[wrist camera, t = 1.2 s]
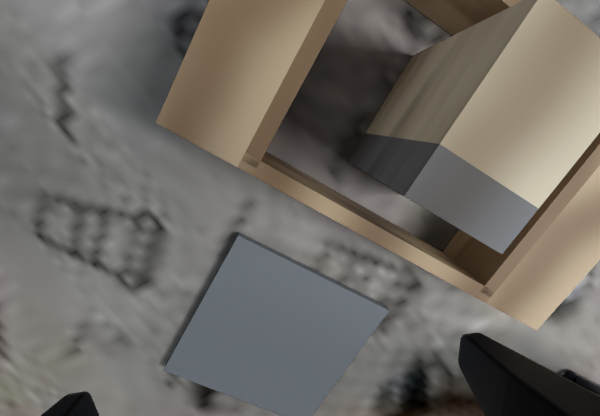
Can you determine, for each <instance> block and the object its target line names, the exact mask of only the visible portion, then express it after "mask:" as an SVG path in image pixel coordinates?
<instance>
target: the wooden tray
mask: <svg viewBox="0 0 600 416" xmlns="http://www.w3.org/2000/svg"><path fill="white" fill-rule="evenodd" d="M405 1H406V2H408V3H409V4H410V5H412V6H413V7H414V8H416V9H417V10H418V11H420V12H421V13H422V14H424V15H425V16H426V17H428V18H429V19H430V20H432V21H433V22H434V23H436V24H437V25H438V26H440V27H441V28H442V29H444V30H445V31H446V32H448V33H449V34H450V35H452V36H453V35H455V34H457V33H459V32H461V31H463V30H465V29H467V28H469V27H471V26H473V25H475V24H477V23H479V22H481V21H483V20H485V19H487V18H489V17H491V16H493V15H495V14H497V13H499V12H501V11H503V10H505V9H507V8H509V7H511V6H513V5H515V4H517V3H519V2H521V1H523V0H405ZM346 2H347V0H209V2H208V5H207V7H206V9H205V11H204V14H203V16H202V18H201V21H200V23H199V25H198V27H197V30H196V32H195V34H194V36H193V39H192V41H191V43H190V46H189V48H188V50H187V52H186V55H185V57H184V59H183V62H182V64H181V66H180V68H179V71H178V73H177V75H176V77H175V80H174V82H173V84H172V87H171V89H170V91H169V93H168V96H167V98H166V100H165V102H164V105H163V107H162V109H161V112H160V114H159V116H158V118H157V121H156V123H157V124H158V125H160V126H162V127H164V128H166V129H168V130H169V131H171V132H173V133H175V134H177V135H179V136H180V137H182V138H184V139H186V140H188V141H190V142H191V143H193V144H195V145H197V146H199V147H201V148H202V149H204V150H206V151H208V152H210V153H212V154H213V155H215V156H217V157H219V158H221V159H223V160H224V161H226V162H228V163H230V164H232V165H234V166H235V167H237V168H239V169H241V170H243V171H245V172H247V173H248V174H250V175H252V176H254V177H256V178H258V179H259V180H261V181H263V182H265V183H267V184H269V185H270V186H272V187H274V188H276V189H278V190H280V191H281V192H283V193H285V194H287V195H289V196H291V197H292V198H294V199H296V200H298V201H300V202H302V203H303V204H305V205H307V206H309V207H311V208H313V209H314V210H316V211H318V212H320V213H322V214H324V215H325V216H327V217H329V218H331V219H333V220H335V221H336V222H338V223H340V224H342V225H344V226H346V227H347V228H349V229H351V230H353V231H355V232H357V233H358V234H360V235H362V236H364V237H366V238H368V239H369V240H371V241H373V242H375V243H377V244H379V245H381V246H382V247H384V248H386V249H388V250H390V251H392V252H393V253H395V254H397V255H399V256H401V257H403V258H404V259H406V260H408V261H410V262H412V263H414V264H415V265H417V266H419V267H421V268H423V269H425V270H426V271H428V272H430V273H432V274H434V275H436V276H437V277H439V278H441V279H443V280H445V281H447V282H448V283H450V284H452V285H454V286H456V287H458V288H459V289H461V290H463V291H465V292H467V293H469V294H470V295H472V296H474V297H476V298H478V299H480V300H481V301H483V302H485V303H487V304H489V305H491V306H492V307H494V308H496V309H498V310H500V311H502V312H504V313H505V314H507V315H509V316H511V317H513V318H515V319H516V320H518V321H520V322H522V323H524V324H526V325H527V326H529V327H531V328H533V329H535V330H537V329H538V328H539V327H540V326H541V325H542V324H543V323H544V322H545V321H546V319H547V318H548V317H549V316H550V315H551V314H552V313H553V312H554V310H555V309H556V308H557V307H558V306H559V305H560V304H561V303H562V302H563V300H564V299H565V298H566V297H567V296H568V295H569V294H570V293H571V291H572V290H573V289H574V288H575V287H576V286H577V285H578V284H579V283H580V281H581V280H582V279H583V278H584V277H585V276H586V275H587V274H588V272H589V271H590V270H591V269H592V268H593V267H594V266H595V265H596V264H597V262H598V261H599V260H600V133H599V134H598V135H597V137H596V138H595V139H594V140H593V142H592V143H591V144H590V145H589V147H588V148H587V149H586V150H585V152H584V153H583V154H582V155H581V157H580V158H579V159H578V160H577V162H576V163H575V164H574V165H573V167H572V168H571V169H570V170H569V172H568V173H567V174H566V175H565V177H564V178H563V179H562V180H561V182H560V183H559V184H558V185H557V187H556V188H555V189H554V190H553V192H552V193H551V194H550V195H549V197H548V198H547V199H546V200H545V202H544V203H543V204H542V205H541V206H540V208H539V209H538V210H537V211H536V213H535V214H534V215H533V216H532V218H531V219H530V220H529V221H528V223H527V224H526V225H525V226H524V228H523V229H522V230H521V231H520V233H519V234H518V235H517V236H516V238H515V239H514V240H513V241H512V243H511V244H510V245H509V246H508V248H507V249H506V250H505V251H504V253H503V254H501V253H499V252H497V251H496V250H494V249H492V248H491V247H489V246H487V245H485V244H484V243H482V242H480V241H479V240H477V239H475V238H474V237H472V236H470V235H469V234H467V233H465V232H464V231H462V230H460V229H459V231H458V232H457V233H456V235H455V236H454V237H453V239H452V240H451V241H450V243H449V244H448V245H447V247H446V248H445V250H444V251H443V252H442V251H440V250H438V249H437V248H435V247H433V246H431V245H430V244H428V243H426V242H424V241H422V240H421V239H419V238H417V237H415V236H414V235H412V234H410V233H408V232H407V231H405V230H403V229H401V228H400V227H398V226H396V225H394V224H392V223H391V222H389V221H387V220H385V219H384V218H382V217H380V216H378V215H377V214H375V213H373V212H371V211H370V210H368V209H366V208H364V207H363V206H361V205H359V204H357V203H355V202H354V201H352V200H350V199H348V198H347V197H345V196H343V195H341V194H340V193H338V192H336V191H334V190H333V189H331V188H329V187H327V186H325V185H324V184H322V183H320V182H318V181H317V180H315V179H313V178H311V177H310V176H308V175H306V174H304V173H303V172H301V171H299V170H297V169H296V168H294V167H292V166H290V165H288V164H287V163H285V162H283V161H281V160H280V159H278V158H276V157H274V156H273V155H271V154H269V153H267V152H266V150H267V148H268V146H269V145H270V143H271V141H272V139H273V137H274V135H275V133H276V132H277V130H278V128H279V126H280V124H281V122H282V120H283V119H284V117H285V115H286V113H287V111H288V109H289V108H290V106H291V104H292V102H293V100H294V98H295V96H296V95H297V93H298V91H299V89H300V87H301V85H302V83H303V82H304V80H305V78H306V76H307V74H308V72H309V71H310V69H311V67H312V65H313V63H314V61H315V59H316V58H317V56H318V54H319V52H320V50H321V48H322V46H323V45H324V43H325V41H326V39H327V37H328V35H329V34H330V32H331V30H332V28H333V26H334V24H335V22H336V21H337V19H338V17H339V15H340V13H341V11H342V9H343V8H344V6H345V4H346Z"/></svg>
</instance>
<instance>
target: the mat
mask: <svg viewBox="0 0 600 416" xmlns="http://www.w3.org/2000/svg"><path fill="white" fill-rule="evenodd" d="M388 312H389V309H388V307H387V306H385V305H383V304H381V303H379V302H377V301H375V300H373V299H371V298H369V297H367V296H365V295H363V294H361V293H359V292H357V291H355V290H353V289H351V288H349V287H347V286H345V285H343V284H341V283H339V282H337V281H335V280H333V279H331V278H329V277H327V276H325V275H323V274H321V273H319V272H317V271H315V270H313V269H311V268H309V267H307V266H305V265H303V264H301V263H299V262H297V261H295V260H293V259H291V258H289V257H287V256H285V255H283V254H281V253H279V252H277V251H275V250H273V249H271V248H269V247H267V246H265V245H263V244H261V243H259V242H257V241H255V240H253V239H251V238H249V237H247V236H245V235H243V234H241V233H239V234H238V236H237V238H236V240H235V242H234V243H233V245H232V247H231V249H230V250H229V252H228V254H227V256H226V258H225V259H224V261H223V263H222V265H221V267H220V268H219V270H218V272H217V274H216V276H215V277H214V279H213V281H212V283H211V285H210V286H209V288H208V290H207V292H206V294H205V295H204V297H203V299H202V301H201V303H200V304H199V306H198V308H197V310H196V312H195V313H194V315H193V317H192V319H191V321H190V322H189V324H188V326H187V328H186V330H185V331H184V333H183V335H182V337H181V339H180V340H179V342H178V344H177V346H176V348H175V349H174V351H173V353H172V355H171V357H170V358H169V360H168V362H167V364H166V366H165V368H164V370H163V371H166V372H169V373H171V374H174V375H176V376H179V377H182V378H184V379H187V380H189V381H192V382H195V383H197V384H200V385H203V386H205V387H208V388H210V389H213V390H216V391H218V392H221V393H223V394H226V395H229V396H231V397H234V398H237V399H239V400H242V401H244V402H247V403H250V404H252V405H255V406H257V407H260V408H263V409H265V410H268V411H271V412H273V413H276V414H278V415H281V416H312V415H313V413H314V412H315V411H316V409H317V408H318V407H319V405H320V404H321V402H322V401H323V400H324V398H325V397H326V396H327V394H328V393H329V392H330V390H331V389H332V388H333V386H334V385H335V383H336V382H337V381H338V379H339V378H340V377H341V375H342V374H343V373H344V371H345V370H346V369H347V367H348V366H349V365H350V363H351V362H352V360H353V359H354V358H355V356H356V355H357V354H358V352H359V351H360V350H361V348H362V347H363V346H364V344H365V343H366V341H367V340H368V339H369V337H370V336H371V335H372V333H373V332H374V331H375V329H376V328H377V327H378V325H379V324H380V323H381V321H382V320H383V318H384V317H385V316H386V314H387V313H388Z"/></svg>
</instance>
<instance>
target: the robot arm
mask: <svg viewBox="0 0 600 416" xmlns="http://www.w3.org/2000/svg"><path fill="white" fill-rule="evenodd" d="M458 361H459V366H460V369H461V371H462V373H463V375H464V377H465V379H466V380H467V382H468V384H469V386H470V388H471V390H472V392H473V394H474V396H475V398H476V399H477V401H478V403H479V405H480V407H481V409H482V411H483V413H484V415H485V416H600V386H599V385H597V384H595V383H594V382H592V381H590V380H588V379H586V378H584V377H582V376H580V375H578V374H576V373H574V372H572V371H569V372H567V373H565V374H564V375H563V376H560V375H558V374H557V373H555V372H553V371H551V370H549V369H547V368H545V367H543V366H541V365H540V364H538V363H536V362H534V361H532V360H530V359H528V358H526V357H524V356H523V355H521V354H519V353H517V352H515V351H513V350H511V349H509V348H508V347H506V346H504V345H502V344H500V343H498V342H496V341H494V340H492V339H491V338H489V337H487V336H485V335H483V334H481V333H470V334H464V335H463V336H462V337H461V342H460V350H459V358H458ZM41 416H99V414H98V411H97V409H96V407H95V404H94V402H93V399H92V397H91V395H90V394H89V393H88V392H78V393H72V394H68V395H66V396H64V397H63V398H62V399H61V400H59V401H58V402H57V403H56V404H54V405H53V406H52V407H51V408H50V409H48V410H47V411H46V412H45V413H43V414H42V415H41Z"/></svg>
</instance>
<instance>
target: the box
mask: <svg viewBox="0 0 600 416" xmlns="http://www.w3.org/2000/svg"><path fill="white" fill-rule="evenodd" d="M599 133H600V37H599V36H597V35H596V34H595V33H594V32H593V31H592V30H590V29H589V28H588V27H587V26H586V25H584V24H583V23H582V22H581V21H580V20H579V19H577V18H576V17H575V16H574V15H573V14H572V13H570V12H569V11H568V10H567V9H566V8H565V7H563V6H562V5H561V4H560V3H559V2H558V1H556V0H523V1H521V2H519V3H517V4H515V5H513V6H511V7H509V8H507V9H505V10H503V11H501V12H499V13H497V14H495V15H493V16H491V17H489V18H487V19H485V20H483V21H481V22H479V23H477V24H475V25H473V26H471V27H469V28H467V29H465V30H463V31H461V32H459V33H457V34H455V35H453V36H451V37H449V38H447V39H445V40H443V41H441V42H439V43H437V44H435V45H433V46H431V47H429V48H427V49H425V50H423V51H421V52H419V53H417V54H415V55H413V56H412V58H411V59H410V61H409V62H408V64H407V66H406V67H405V69H404V71H403V72H402V74H401V75H400V77H399V79H398V80H397V82H396V84H395V85H394V87H393V89H392V90H391V92H390V93H389V95H388V97H387V98H386V100H385V102H384V103H383V105H382V106H381V108H380V110H379V111H378V113H377V115H376V116H375V118H374V120H373V121H372V123H371V124H370V126H369V128H368V129H367V131H366V133H365V134H364V136H363V137H362V139H361V141H360V142H359V144H358V146H357V147H356V149H355V151H354V152H353V154H352V155H351V157H350V159H349V160H348V162H349V163H351V164H353V165H354V166H356V167H358V168H359V169H361V170H362V171H364V172H366V173H367V174H369V175H371V176H372V177H374V178H375V179H377V180H379V181H380V182H382V183H384V184H385V185H387V186H388V187H390V188H392V189H393V190H395V191H397V192H398V193H400V194H401V195H403V196H405V197H406V198H408V199H410V200H411V201H413V202H415V203H416V204H418V205H420V206H422V207H423V208H425V209H427V210H428V211H430V212H432V213H433V214H435V215H437V216H438V217H440V218H442V219H443V220H445V221H447V222H448V223H450V224H452V225H454V226H455V227H457V228H459V229H460V230H462V231H464V232H465V233H467V234H469V235H470V236H472V237H474V238H475V239H477V240H479V241H480V242H482V243H484V244H485V245H487V246H489V247H491V248H492V249H494V250H496V251H497V252H499V253H501V254H503V253H504V251H505V250H506V249H507V248H508V246H509V245H510V244H511V243H512V241H513V240H514V239H515V238H516V236H517V235H518V234H519V233H520V231H521V230H522V229H523V228H524V226H525V225H526V224H527V223H528V221H529V220H530V219H531V218H532V216H533V215H534V214H535V213H536V211H537V210H538V209H539V208H540V206H541V205H542V204H543V203H544V202H545V200H546V199H547V198H548V197H549V195H550V194H551V193H552V192H553V190H554V189H555V188H556V187H557V185H558V184H559V183H560V182H561V180H562V179H563V178H564V177H565V175H566V174H567V173H568V172H569V170H570V169H571V168H572V167H573V165H574V164H575V163H576V162H577V160H578V159H579V158H580V157H581V155H582V154H583V153H584V152H585V150H586V149H587V148H588V147H589V145H590V144H591V143H592V142H593V140H594V139H595V138H596V137H597V135H598V134H599Z"/></svg>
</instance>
